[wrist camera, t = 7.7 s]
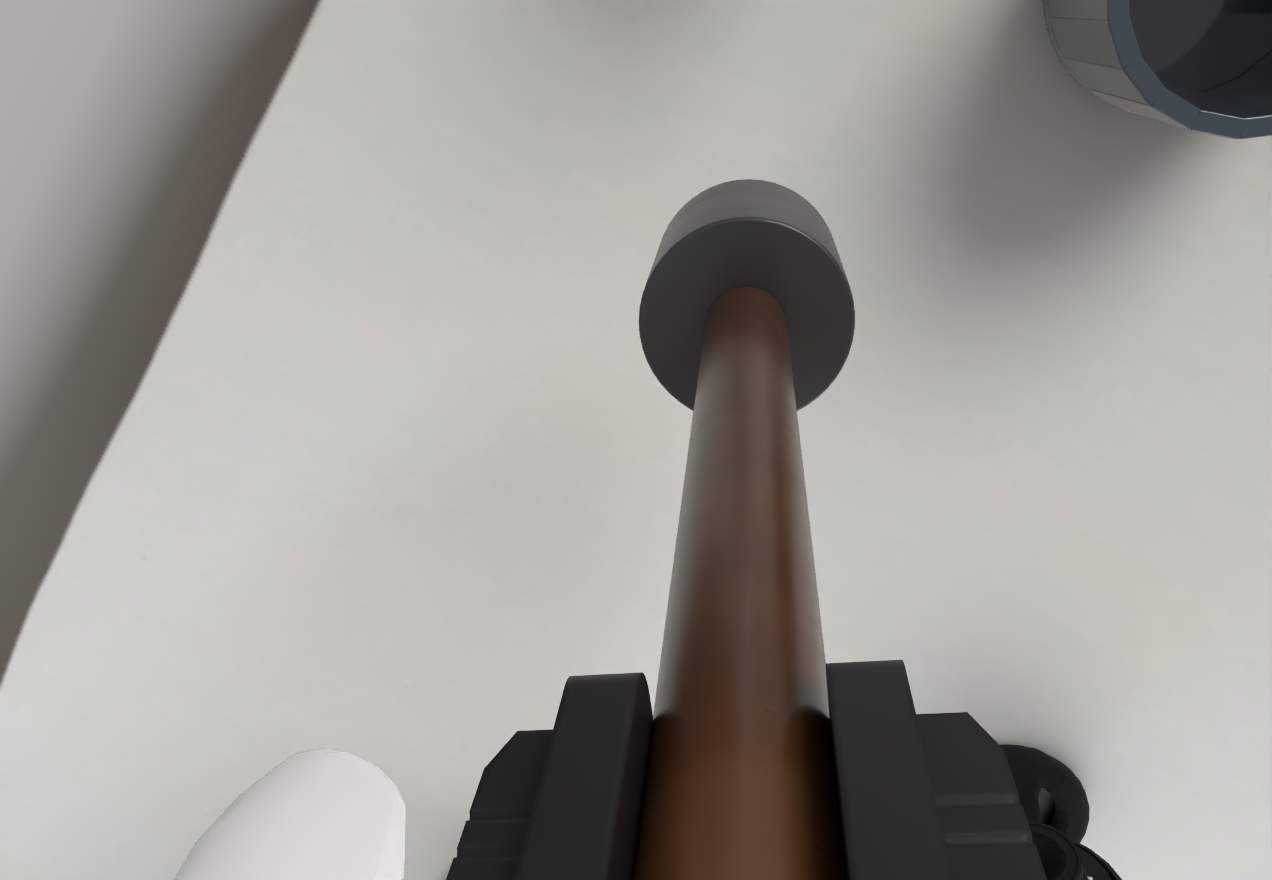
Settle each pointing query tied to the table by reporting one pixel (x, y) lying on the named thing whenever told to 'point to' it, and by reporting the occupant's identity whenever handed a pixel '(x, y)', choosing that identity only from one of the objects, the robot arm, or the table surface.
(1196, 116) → the gray open cylinder
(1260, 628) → the table surface
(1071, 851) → the webcam
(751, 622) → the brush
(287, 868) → the white tall cylinder
